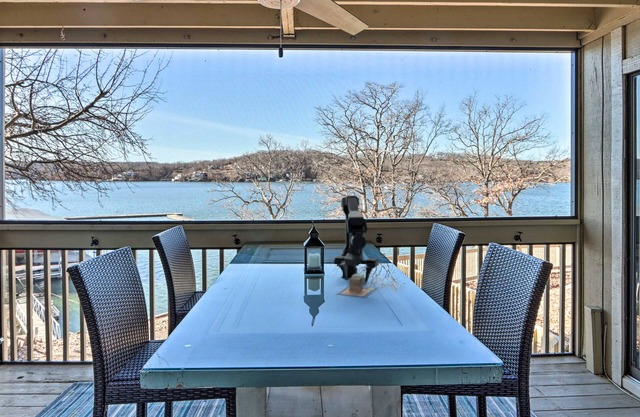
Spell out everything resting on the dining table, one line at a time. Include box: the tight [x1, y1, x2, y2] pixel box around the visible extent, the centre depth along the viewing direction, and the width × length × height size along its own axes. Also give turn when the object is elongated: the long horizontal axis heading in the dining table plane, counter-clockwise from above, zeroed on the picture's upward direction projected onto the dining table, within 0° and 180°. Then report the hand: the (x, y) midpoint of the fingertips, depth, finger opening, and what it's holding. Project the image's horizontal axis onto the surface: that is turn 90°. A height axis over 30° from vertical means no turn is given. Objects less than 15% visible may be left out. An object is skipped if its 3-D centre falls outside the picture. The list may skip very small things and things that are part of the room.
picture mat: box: [336, 285, 377, 299], centre depth 182 cm, size 13×15×1 cm
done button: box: [352, 273, 365, 279], centre depth 195 cm, size 4×4×2 cm
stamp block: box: [348, 276, 364, 294], centre depth 181 cm, size 4×4×6 cm
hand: (356, 281), depth 181 cm, fingers open, 9 cm apart
